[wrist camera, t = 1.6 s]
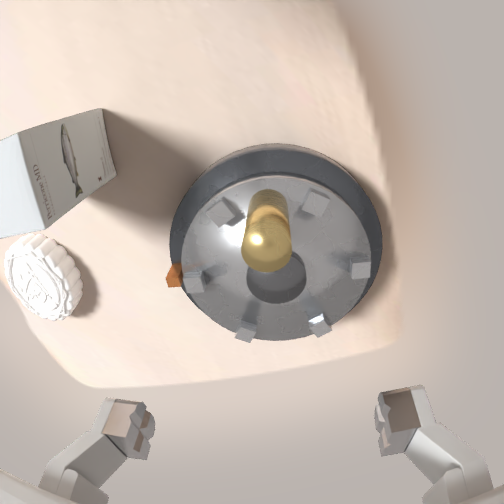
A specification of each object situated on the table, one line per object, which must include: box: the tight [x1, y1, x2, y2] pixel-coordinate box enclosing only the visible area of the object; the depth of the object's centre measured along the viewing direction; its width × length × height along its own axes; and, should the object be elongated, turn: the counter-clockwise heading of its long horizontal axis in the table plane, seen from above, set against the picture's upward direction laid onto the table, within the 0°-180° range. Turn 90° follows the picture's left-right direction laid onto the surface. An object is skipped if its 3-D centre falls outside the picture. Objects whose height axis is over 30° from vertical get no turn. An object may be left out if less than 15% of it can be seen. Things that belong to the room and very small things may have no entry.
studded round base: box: [181, 171, 371, 343], centre depth 26 cm, size 17×17×9 cm
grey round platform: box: [166, 143, 382, 311], centre depth 30 cm, size 20×20×6 cm
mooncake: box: [4, 233, 83, 321], centre depth 35 cm, size 12×12×4 cm
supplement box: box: [0, 108, 117, 239], centre depth 23 cm, size 7×7×13 cm
